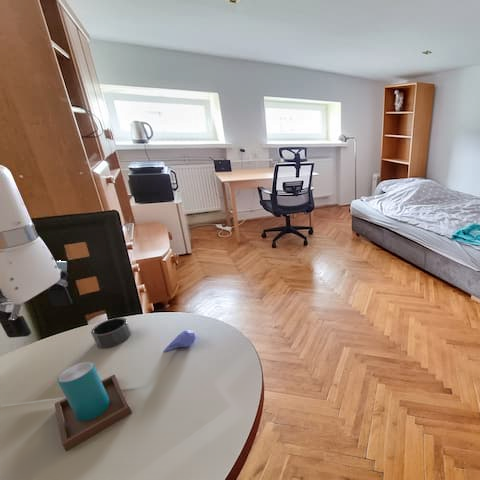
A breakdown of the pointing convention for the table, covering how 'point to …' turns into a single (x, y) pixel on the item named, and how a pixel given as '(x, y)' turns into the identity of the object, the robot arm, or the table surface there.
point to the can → (84, 391)
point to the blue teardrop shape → (182, 340)
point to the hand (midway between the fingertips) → (43, 319)
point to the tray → (81, 431)
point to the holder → (111, 333)
